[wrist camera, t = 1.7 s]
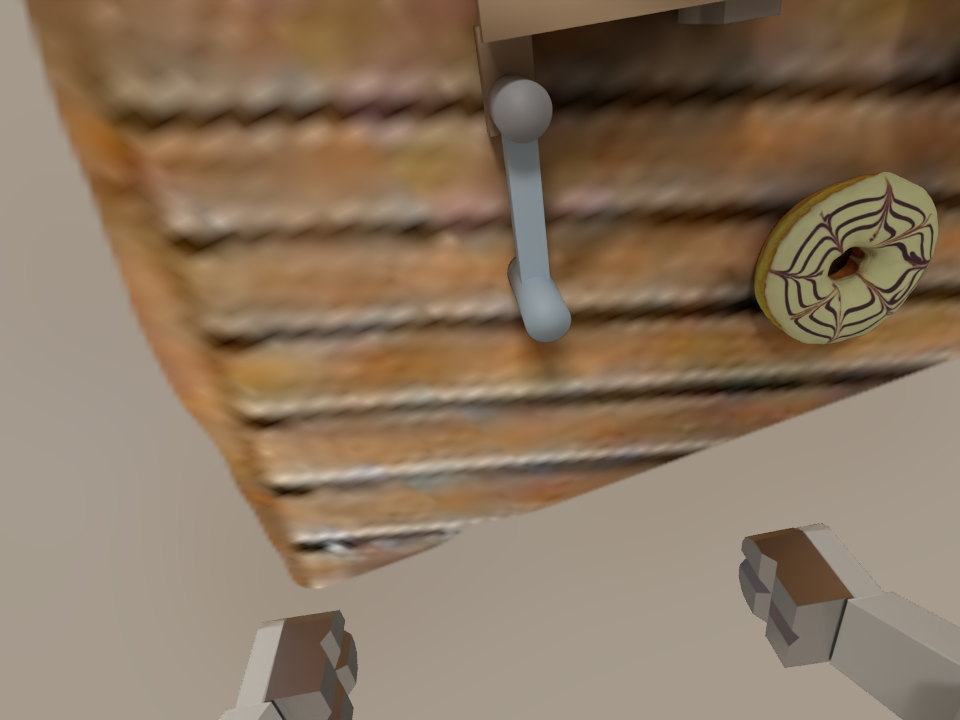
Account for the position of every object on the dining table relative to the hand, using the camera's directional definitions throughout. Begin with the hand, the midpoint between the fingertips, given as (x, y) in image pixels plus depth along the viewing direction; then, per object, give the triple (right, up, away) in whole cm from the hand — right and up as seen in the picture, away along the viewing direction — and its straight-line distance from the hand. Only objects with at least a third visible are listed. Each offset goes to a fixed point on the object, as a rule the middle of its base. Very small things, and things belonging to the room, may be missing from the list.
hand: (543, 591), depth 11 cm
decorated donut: (+21, +12, +25) cm, 35 cm away
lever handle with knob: (+1, +14, +21) cm, 25 cm away
